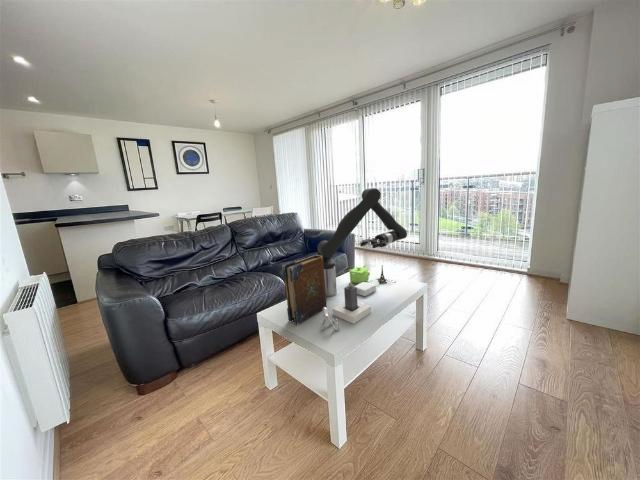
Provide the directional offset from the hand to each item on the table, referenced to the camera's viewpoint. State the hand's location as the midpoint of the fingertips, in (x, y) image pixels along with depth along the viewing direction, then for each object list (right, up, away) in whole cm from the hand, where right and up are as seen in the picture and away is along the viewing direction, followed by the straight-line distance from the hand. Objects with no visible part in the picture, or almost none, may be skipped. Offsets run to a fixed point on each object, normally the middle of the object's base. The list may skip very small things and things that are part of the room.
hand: (366, 245), depth 143 cm
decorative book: (-32, -36, -7) cm, 49 cm away
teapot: (+1, -26, +30) cm, 40 cm away
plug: (-10, -35, -10) cm, 38 cm away
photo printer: (-3, -28, +10) cm, 30 cm away
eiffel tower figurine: (+16, -26, +28) cm, 42 cm away
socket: (-10, -35, -10) cm, 38 cm away
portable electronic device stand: (-21, -39, -21) cm, 49 cm away
